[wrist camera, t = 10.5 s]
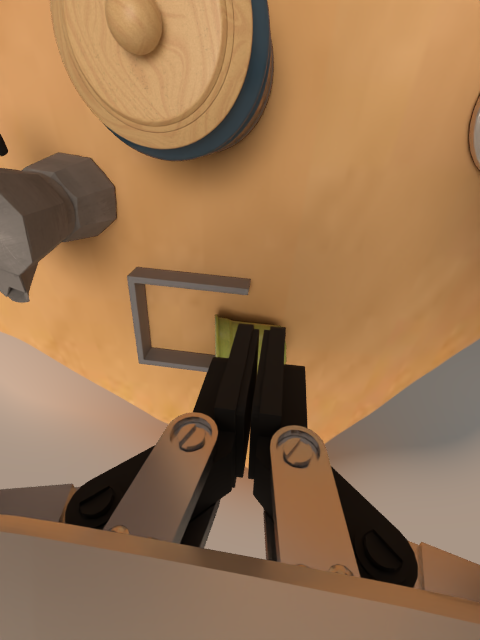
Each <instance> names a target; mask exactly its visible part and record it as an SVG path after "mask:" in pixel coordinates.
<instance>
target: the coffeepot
mask: <svg viewBox="0 0 480 640" xmlns="http://www.w3.org/2000/svg"><path fill="white" fill-rule="evenodd" d="M7 153H8V149H7V147H6V145H5V142H4V140H3V138H2V136H1V134H0V156H4V155H6V154H7ZM115 219H116V196H115V190H114V186H113V184H112V183H111V182H110V180H109V179H108V178H107V176H106V175H105V173H104V172H103V171H102V170H101V169H100V168H99V167H98V166H97V165H96V164H95V163H94V162H93V161H92V160H91V158H87V157H82V156H77V155H70V154H65V153H59V152H58V153H56V154H54V155H52V156H49V157H47V158H45V159H43V160H40V161H38V162H36V163H34V164H31V165H29V166H27V167H25V168H24V169H23V170H22V171H19V170H13V169H5V168H0V292H1V293H3V294H4V295H5V296H6V297H9V298H10V299H11V300H12V301H15V302H29V301H30V300H29V290H30V286H31V283H32V280H33V277H34V274H35V271H36V268H37V265H38V262H39V261H40V260H41V259H42V258H44V257H45V256H46V255H47V254H48V253H50V252H51V251H52V250H53V249H54V248H55V247H56V246H57V245H59V244H60V243H61V242H69V241H73V240H78V239H83V238H88V237H93V236H98V235H99V234H100V233H101V232H102V231H103V230H105V229H106V228H107V227H108V226H109V225H110V224H111V223H112V222H113V221H114V220H115Z"/></svg>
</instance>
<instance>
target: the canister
mask: <svg viewBox="0 0 480 640" xmlns="http://www.w3.org/2000/svg"><path fill="white" fill-rule="evenodd" d="M50 10H51V18H52V24H53V30H54V34H55V38H56V43H57V46H58V49H59V53H60V55H61V58H62V61H63V64H64V66H65V68H66V71H67V73H68V75H69V77H70V79H71V81H72V83H73V85H74V86H75V88H76V90H77V92H78V93H79V95H80V96H81V98H82V99H83V101H84V102H85V103H86V105H87V106H88V107H89V108H90V110H91V111H92V112H93V113H94V114H95V115H96V116H97V117H98V118H99V119H100V120H101V121H102V123H103V124H104V125H105V126H106V127H107V128H108V129H109V130H110V131H111V132H112V133H113V134H114V135H115V136H116V137H118V138H119V139H120V140H121V141H123V142H124V143H125V144H127V145H128V146H130V147H131V148H133V149H135V150H137V151H138V152H140V153H143V154H145V155H147V156H150V157H153V158H157V159H161V160H167V161H185V160H191V159H196V158H199V157H202V156H206V155H210V154H212V153H216V152H220V151H223V150H225V149H228V148H230V147H232V146H234V145H235V144H237V143H238V142H240V141H241V140H242V139H244V138H245V137H246V136H247V135H248V134H249V133H250V132H251V130H252V129H253V128H254V127H255V125H256V124H257V122H258V121H259V119H260V118H261V116H262V114H263V112H264V109H265V107H266V105H267V102H268V99H269V96H270V92H271V87H272V81H273V72H274V58H273V46H272V40H271V31H270V19H269V8H268V2H267V0H50Z"/></svg>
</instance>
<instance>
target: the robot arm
mask: <svg viewBox="0 0 480 640" xmlns="http://www.w3.org/2000/svg"><path fill="white" fill-rule="evenodd" d="M469 143H470V151H471V155H472V157H473V160H474V163H475V165H476V166H477V167H478V169H479V170H480V96H479V99H478V101H477V103H476V106H475V108H474V111H473V115H472V119H471V123H470V132H469ZM285 331H286V328H285V327H274V326H270V330H264V333H263V340H262V346H261V353H260V359H259V365H258V348H259V329H254V325H252V324H242V323H239V324H238V327H237V331H236V334H235V337H234V341H233V344H232V348H231V351H230V355H229V358H222V357H213V358H212V361H211V363H210V366H209V369H208V372H207V374H206V377H205V380H204V383H203V385H202V388H201V391H200V394H199V397H198V399H197V402H196V405H195V408H194V410H193V413H186V414H183V415H180V416H178V417H177V418H175V419H174V420H172V421H171V422H170V424H169V425H168V426H167V427H166V429H165V431H164V432H163V434H162V435H161V437H160V439H159V440H158V442H157V443H156V445H155V446H153V447H151V448H149V449H147V450H145V451H144V452H142V453H140V454H138V455H136V456H134V457H133V458H131V459H129V460H127V461H125V462H123V463H121V464H119V465H118V466H116V467H114V468H112V469H110V470H108V471H107V472H105V473H103V474H101V475H99V476H97V477H95V478H94V479H92V480H90V481H88V482H87V483H86V484H84V485H83V486H81V487H74V486H73V484H63V485H50V486H38V487H26V488H13V489H1V490H0V640H480V565H479V564H476V563H473V562H471V561H468V560H466V559H463V558H461V557H458V556H456V555H453V554H451V553H448V552H446V551H443V550H441V549H438V548H436V547H433V546H431V545H428V544H426V543H423V542H421V543H420V545H417V544H415V543H412V542H410V541H407V539H406V538H405V537H404V536H403V535H402V534H401V532H400V531H399V530H398V529H397V528H396V527H394V525H392V524H391V523H390V522H389V521H388V520H387V519H386V518H385V517H384V516H383V515H382V514H381V513H380V512H379V511H378V510H376V508H375V507H374V506H372V505H371V504H370V503H369V502H368V501H367V500H366V499H365V498H364V497H363V496H362V495H361V494H360V493H359V492H358V491H357V490H355V489H354V488H353V487H352V486H351V485H350V484H349V483H348V482H347V481H346V480H345V479H344V478H343V477H342V476H341V475H340V474H338V472H337V471H335V469H333V468H332V467H331V465H330V462H329V458H328V454H327V450H326V447H325V445H324V443H323V441H322V439H321V438H320V437H319V436H318V435H317V434H316V433H314V432H313V431H312V430H310V429H308V428H307V405H306V380H305V367H304V366H296V365H287V364H284V351H285ZM257 365H258V372H257ZM250 427H251V430H250ZM249 434H250V451H249V472H248V478H249V479H254V488H253V495H254V496H255V498H256V499H257V500H258V502H259V503H260V504H261V505H262V506H263V508H264V513H263V515H264V532H265V548H266V560H264V559H259V558H253V557H248V556H243V555H237V554H232V553H226V552H221V551H215V550H210V549H204V547H205V544H206V541H207V539H208V536H209V533H210V530H211V527H212V524H213V521H214V518H215V516H216V513H217V510H218V507H219V504H220V499H221V498H222V497H223V496H225V495H226V494H228V493H229V492H231V490H232V487H233V488H234V487H235V483H236V477H243V474H244V467H245V461H246V454H247V447H248V441H249Z"/></svg>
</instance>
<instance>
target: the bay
mask: <svg viewBox="0 0 480 640" xmlns="http://www.w3.org/2000/svg"><path fill="white" fill-rule="evenodd" d="M127 279H128V286H129V294H130V301H131V309H132V316H133V323H134V331H135V338H136V346H137V353H138V360H139V363H140V364H147V365H155V366H163V367H171V368H179V369H187V370H195V371H203V372H208V369H209V366H210V363H211V361H212V358H213V357H216V355H209V354H201V353H193V352H185V351H177V350H169V349H160V348H152V347H151V340H150V330H149V321H148V311H147V302H146V292H145V284H150V285H159V286H168V287H177V288H186V289H195V290H205V291H214V292H223V293H232V294H241V295H248V292H249V287H250V279H245V278H236V277H226V276H217V275H208V274H198V273H189V272H179V271H170V270H161V269H151V268H142V267H136V268H135V269H134V270H133V271H132V272H131V273H130V274H129V275H128V276H127Z"/></svg>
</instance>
